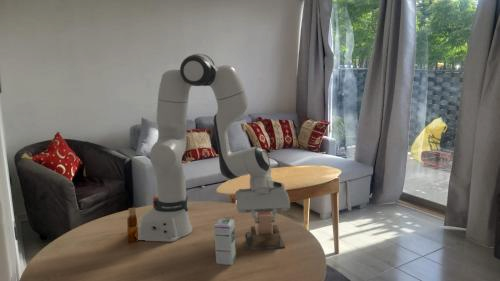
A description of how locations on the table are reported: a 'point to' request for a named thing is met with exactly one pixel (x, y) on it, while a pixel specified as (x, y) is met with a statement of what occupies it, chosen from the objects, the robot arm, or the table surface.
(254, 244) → the stop cradle
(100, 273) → the table surface
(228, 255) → the syrup box
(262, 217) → the block
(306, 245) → the table surface
